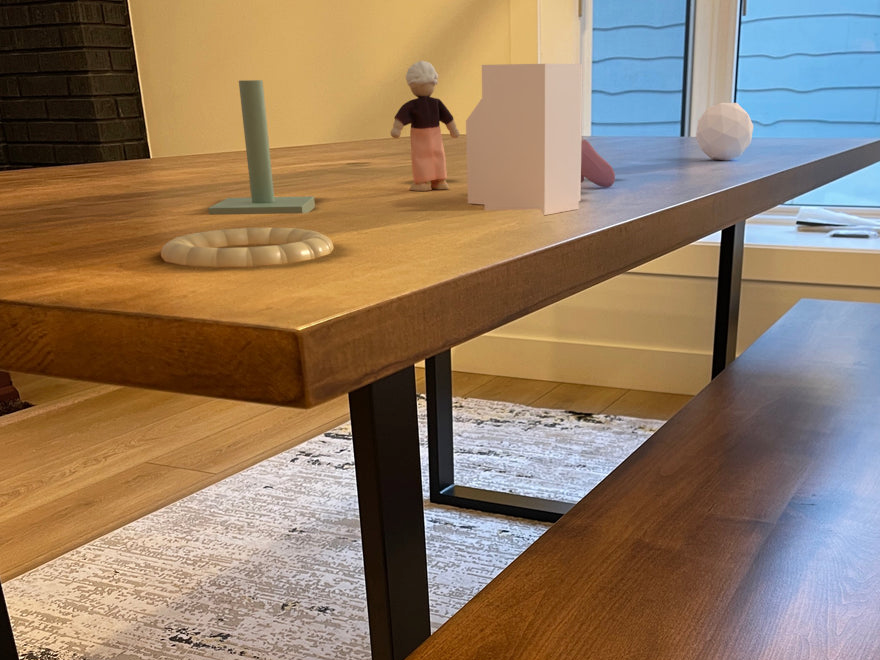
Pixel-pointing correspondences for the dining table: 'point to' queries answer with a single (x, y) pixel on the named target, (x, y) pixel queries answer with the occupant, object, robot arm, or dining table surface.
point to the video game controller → (595, 166)
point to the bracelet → (204, 252)
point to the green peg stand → (259, 163)
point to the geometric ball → (724, 131)
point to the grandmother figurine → (425, 128)
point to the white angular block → (526, 138)
